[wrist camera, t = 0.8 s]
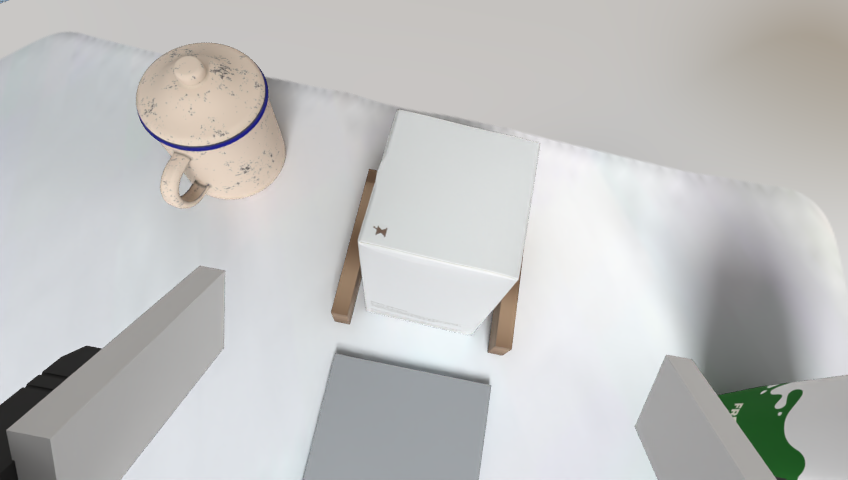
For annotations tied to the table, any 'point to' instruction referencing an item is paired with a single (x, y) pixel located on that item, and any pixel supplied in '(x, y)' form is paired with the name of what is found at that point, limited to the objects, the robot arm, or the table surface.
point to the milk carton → (797, 426)
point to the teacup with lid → (211, 123)
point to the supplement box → (445, 222)
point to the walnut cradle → (352, 277)
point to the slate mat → (397, 424)
